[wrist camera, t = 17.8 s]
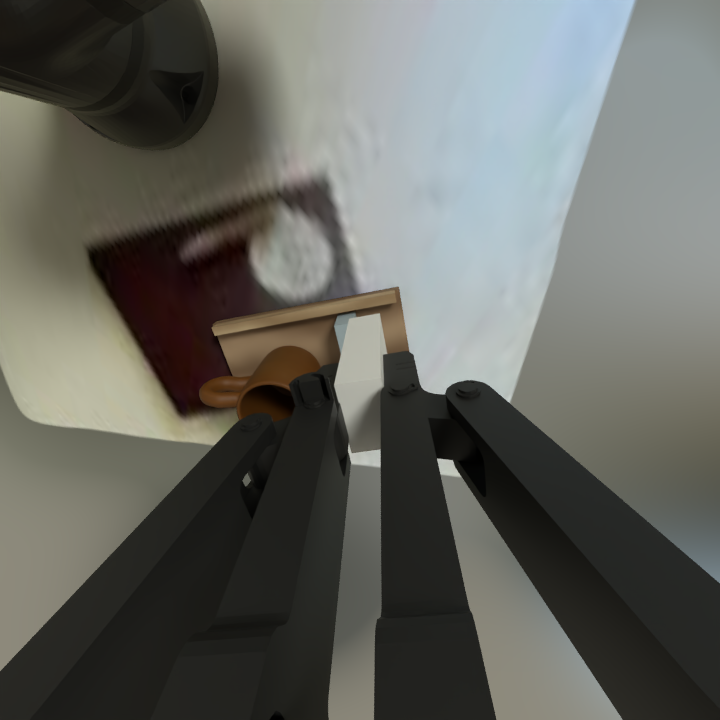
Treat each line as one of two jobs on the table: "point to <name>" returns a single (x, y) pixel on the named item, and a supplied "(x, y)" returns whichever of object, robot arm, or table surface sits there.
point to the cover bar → (342, 326)
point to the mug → (262, 385)
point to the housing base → (307, 329)
